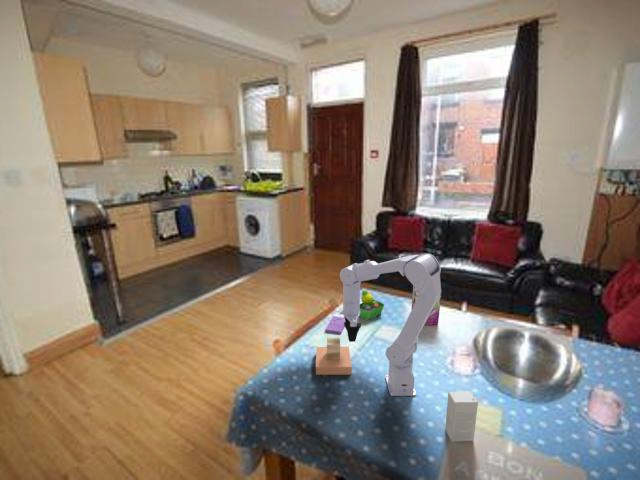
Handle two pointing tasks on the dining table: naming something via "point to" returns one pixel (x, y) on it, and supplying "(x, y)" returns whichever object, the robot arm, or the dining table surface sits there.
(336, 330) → the sponges
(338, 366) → the terracotta plinth
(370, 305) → the fruit basket
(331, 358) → the beech block
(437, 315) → the candy bar box
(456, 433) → the skincare box
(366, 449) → the dining table surface
